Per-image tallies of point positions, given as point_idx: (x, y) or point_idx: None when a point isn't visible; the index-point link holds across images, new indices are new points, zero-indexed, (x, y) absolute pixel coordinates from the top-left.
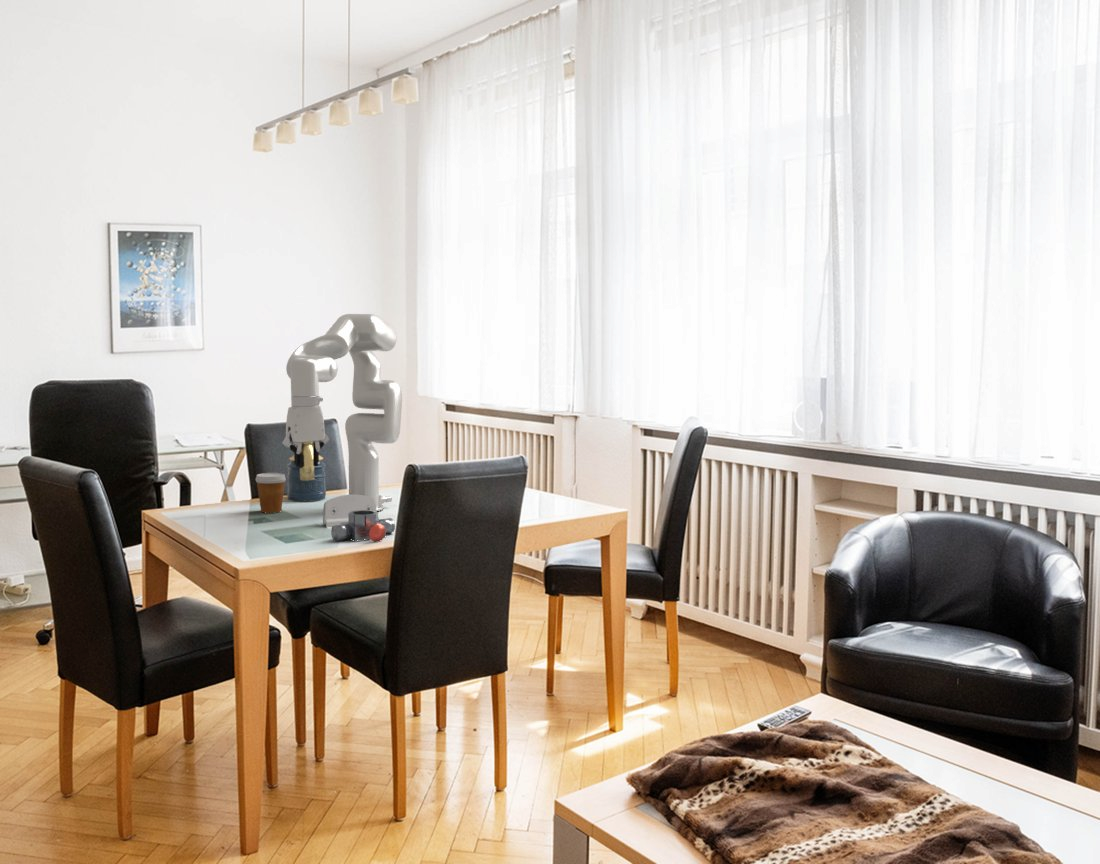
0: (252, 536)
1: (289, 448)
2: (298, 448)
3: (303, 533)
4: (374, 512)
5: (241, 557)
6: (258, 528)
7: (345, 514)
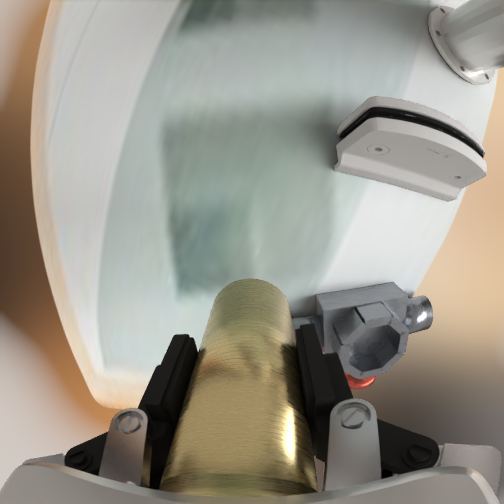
0: (125, 181)
1: (82, 448)
2: (153, 488)
3: (251, 206)
4: (396, 355)
5: (91, 352)
6: (166, 87)
7: (401, 162)
